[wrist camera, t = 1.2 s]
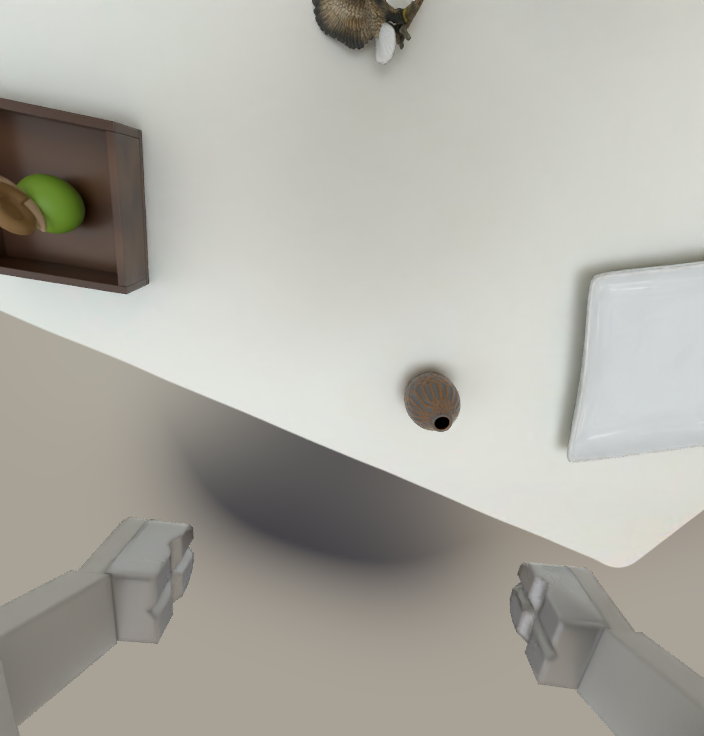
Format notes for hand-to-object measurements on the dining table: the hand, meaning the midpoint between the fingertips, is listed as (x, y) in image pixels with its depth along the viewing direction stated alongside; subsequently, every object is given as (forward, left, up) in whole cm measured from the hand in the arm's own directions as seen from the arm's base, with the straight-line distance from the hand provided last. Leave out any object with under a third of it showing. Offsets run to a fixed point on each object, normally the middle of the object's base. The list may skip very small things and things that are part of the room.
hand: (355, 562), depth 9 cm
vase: (+13, +14, -38) cm, 43 cm away
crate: (-3, -30, -38) cm, 49 cm away
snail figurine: (-3, -30, -38) cm, 48 cm away
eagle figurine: (-24, -2, -38) cm, 45 cm away
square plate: (+3, +45, -38) cm, 59 cm away
